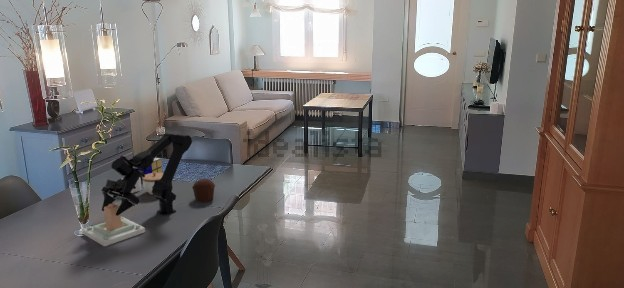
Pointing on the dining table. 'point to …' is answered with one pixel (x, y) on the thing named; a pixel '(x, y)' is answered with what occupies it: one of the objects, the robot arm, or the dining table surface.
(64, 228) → the dining table surface
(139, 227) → the base plate
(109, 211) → the tall brick
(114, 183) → the robot arm
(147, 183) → the lidded bowl
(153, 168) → the puzzle cube
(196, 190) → the muffin
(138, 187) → the medicine bottle
